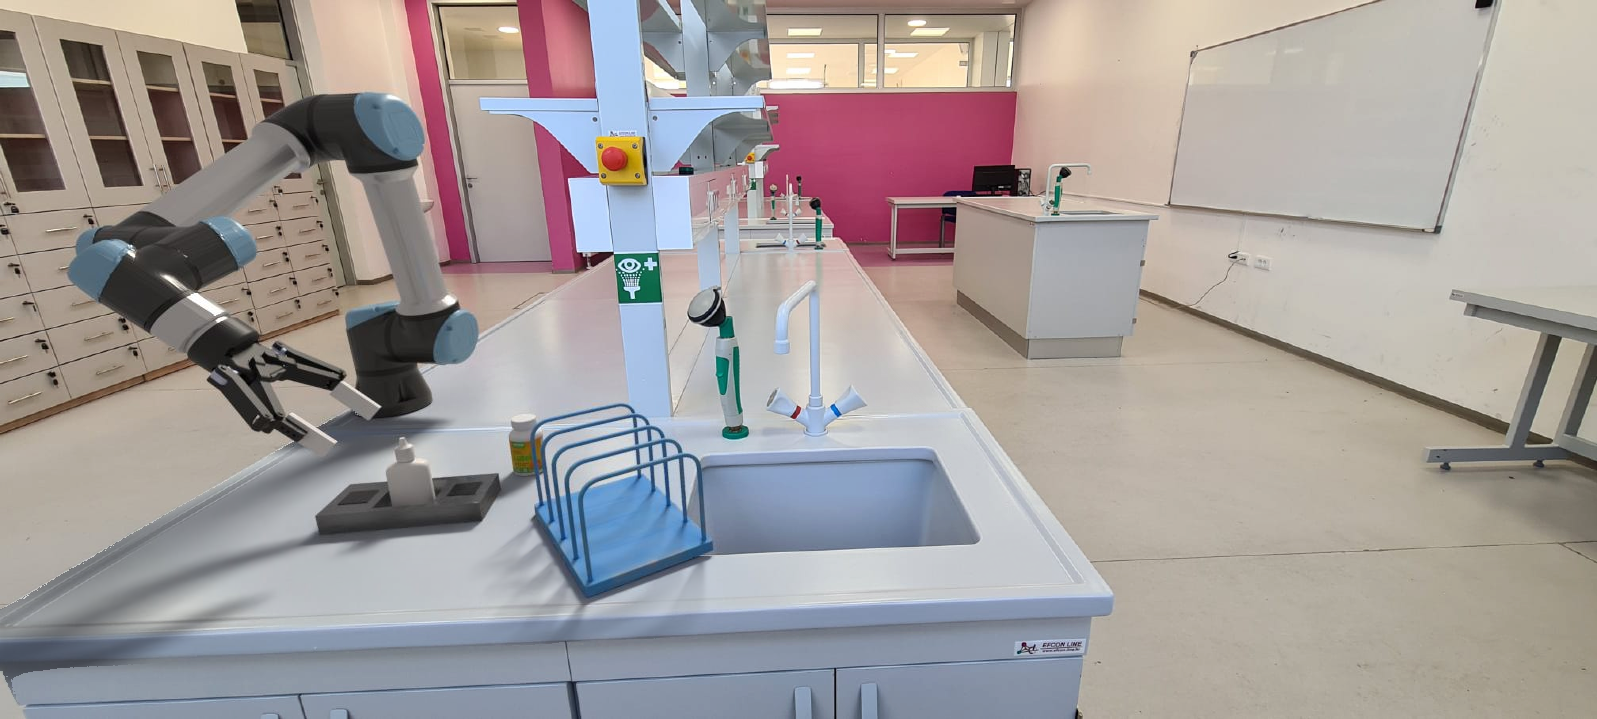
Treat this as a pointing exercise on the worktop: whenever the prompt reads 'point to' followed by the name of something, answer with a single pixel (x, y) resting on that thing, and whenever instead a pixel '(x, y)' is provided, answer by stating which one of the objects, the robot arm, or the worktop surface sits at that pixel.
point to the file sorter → (618, 512)
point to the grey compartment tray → (375, 512)
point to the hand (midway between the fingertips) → (354, 430)
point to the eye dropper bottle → (409, 478)
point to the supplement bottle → (524, 444)
